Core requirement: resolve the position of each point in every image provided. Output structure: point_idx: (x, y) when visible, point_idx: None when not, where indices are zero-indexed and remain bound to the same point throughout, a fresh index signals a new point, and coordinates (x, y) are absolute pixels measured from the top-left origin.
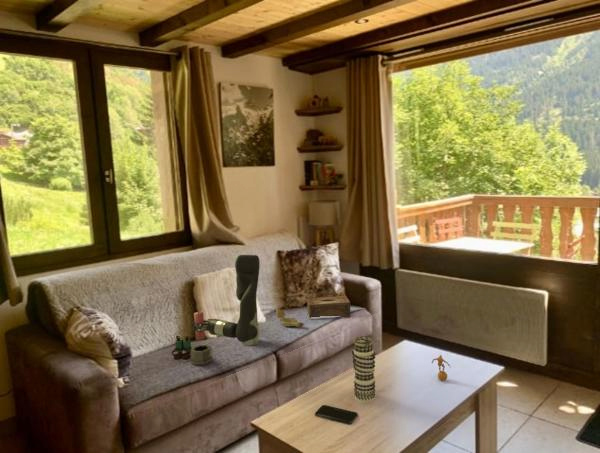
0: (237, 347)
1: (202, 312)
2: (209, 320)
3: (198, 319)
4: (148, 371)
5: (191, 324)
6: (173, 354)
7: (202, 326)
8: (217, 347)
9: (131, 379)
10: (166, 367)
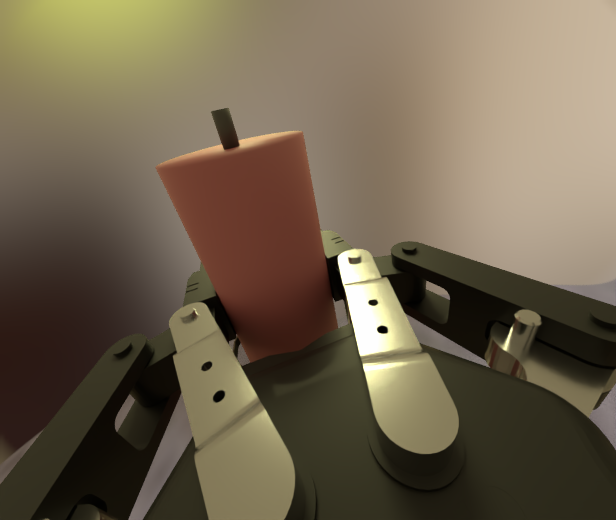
0: (608, 414)
1: (291, 136)
2: (393, 312)
3: (208, 255)
4: (119, 410)
5: (190, 283)
6: (234, 353)
7: (294, 342)
8: (458, 346)
9: (27, 445)
10: (178, 420)
